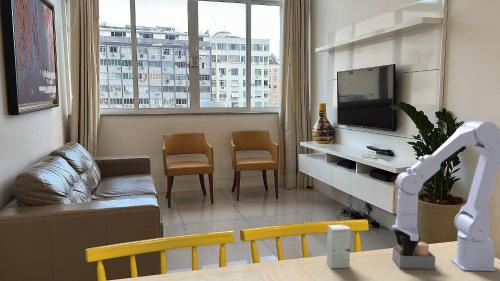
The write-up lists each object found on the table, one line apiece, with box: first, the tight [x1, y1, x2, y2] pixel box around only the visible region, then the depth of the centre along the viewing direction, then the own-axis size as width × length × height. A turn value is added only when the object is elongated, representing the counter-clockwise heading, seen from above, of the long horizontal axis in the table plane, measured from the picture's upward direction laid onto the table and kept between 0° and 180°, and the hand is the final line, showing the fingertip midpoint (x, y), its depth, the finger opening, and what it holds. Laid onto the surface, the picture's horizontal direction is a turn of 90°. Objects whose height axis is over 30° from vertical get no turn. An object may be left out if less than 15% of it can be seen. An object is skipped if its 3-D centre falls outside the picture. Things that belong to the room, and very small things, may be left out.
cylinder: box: [414, 241, 430, 256], centre depth 116 cm, size 4×4×6 cm
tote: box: [391, 246, 436, 271], centre depth 116 cm, size 10×7×4 cm
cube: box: [395, 244, 414, 256], centre depth 116 cm, size 4×4×4 cm
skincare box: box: [326, 224, 352, 269], centre depth 115 cm, size 6×4×12 cm
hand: (405, 255), depth 116 cm, fingers closed on cube, 4 cm apart
